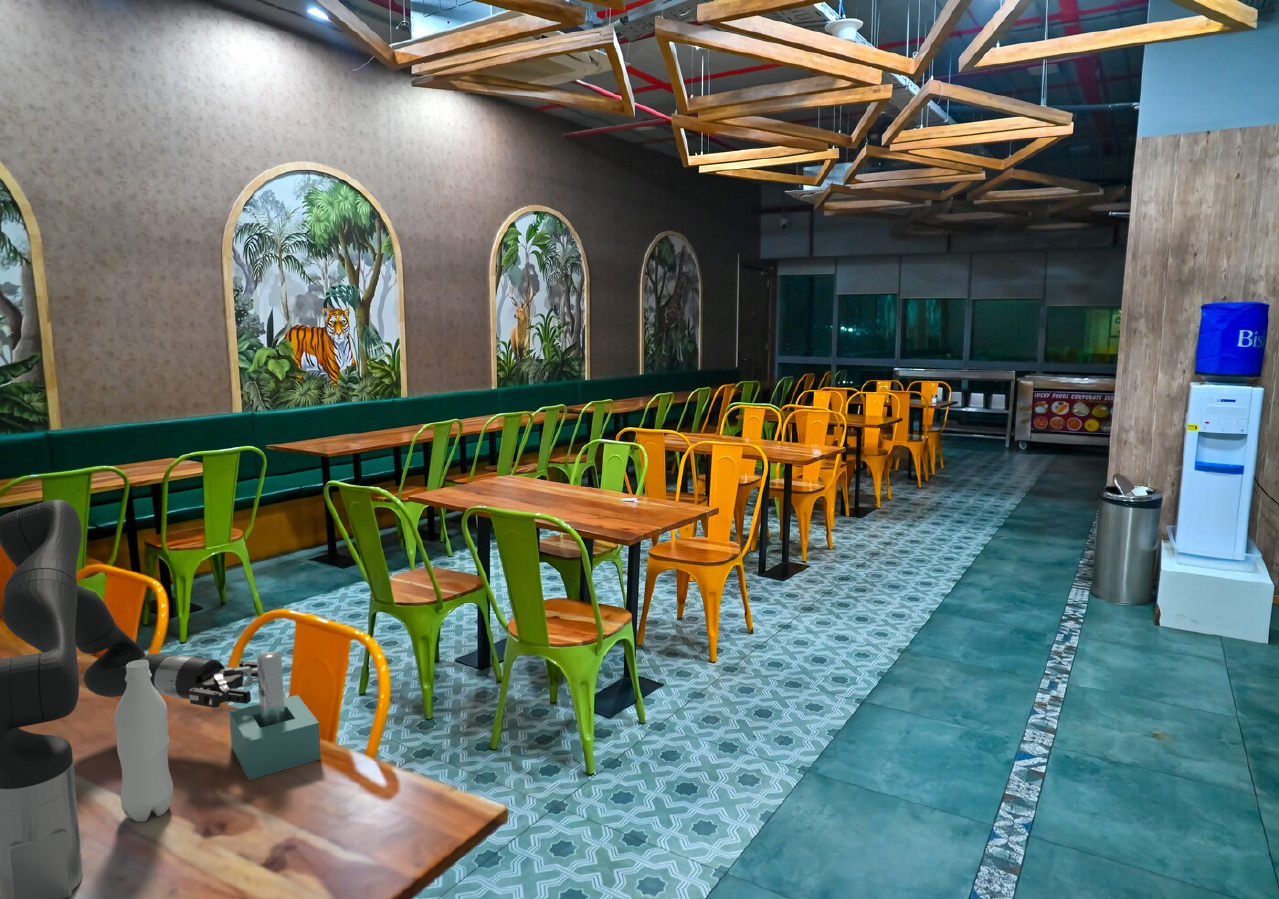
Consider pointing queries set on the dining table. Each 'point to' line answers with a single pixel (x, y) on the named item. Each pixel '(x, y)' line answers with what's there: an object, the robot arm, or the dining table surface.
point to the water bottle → (143, 745)
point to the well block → (274, 739)
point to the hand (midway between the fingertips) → (265, 687)
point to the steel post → (270, 688)
